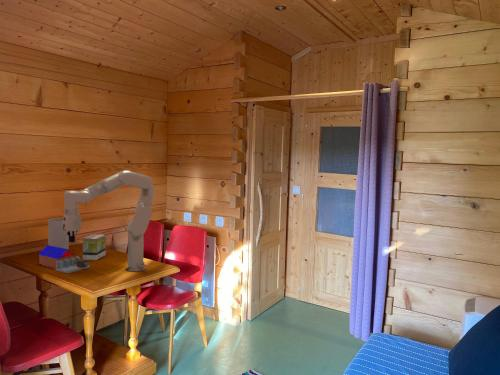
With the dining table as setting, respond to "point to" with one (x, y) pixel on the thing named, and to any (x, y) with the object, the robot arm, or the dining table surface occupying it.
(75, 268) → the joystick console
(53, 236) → the cylinder vase
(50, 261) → the house
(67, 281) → the dining table surface
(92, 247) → the tea box
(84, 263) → the cube on round rod
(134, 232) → the robot arm
